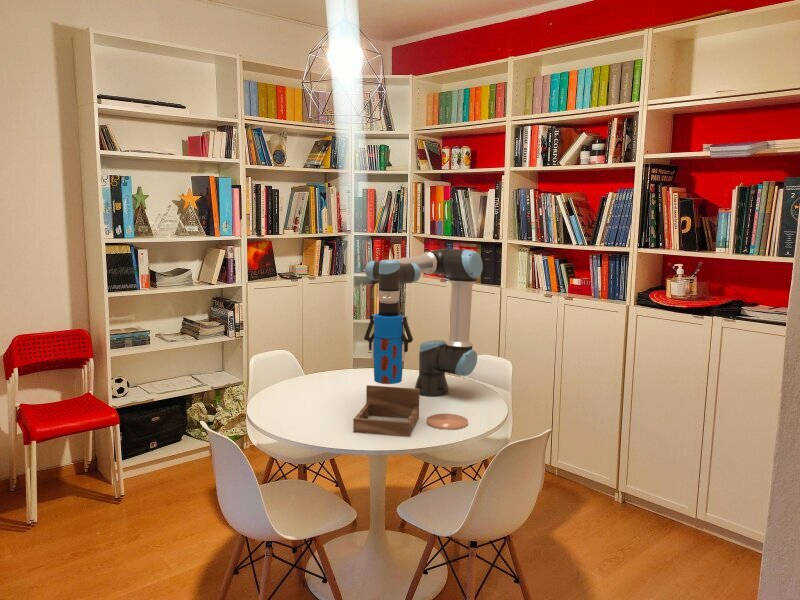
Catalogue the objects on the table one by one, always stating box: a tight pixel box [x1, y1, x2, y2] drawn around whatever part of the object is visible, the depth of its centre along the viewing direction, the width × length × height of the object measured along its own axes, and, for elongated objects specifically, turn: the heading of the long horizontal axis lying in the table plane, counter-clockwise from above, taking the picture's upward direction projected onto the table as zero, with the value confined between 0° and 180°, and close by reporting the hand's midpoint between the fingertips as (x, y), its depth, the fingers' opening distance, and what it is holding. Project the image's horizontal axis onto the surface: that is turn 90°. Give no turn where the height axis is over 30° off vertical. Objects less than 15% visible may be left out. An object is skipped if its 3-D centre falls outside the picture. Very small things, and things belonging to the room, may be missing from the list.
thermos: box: [373, 312, 404, 385], centre depth 241 cm, size 11×11×25 cm
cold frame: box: [352, 384, 420, 438], centre depth 244 cm, size 21×21×12 cm
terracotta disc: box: [426, 413, 469, 430], centre depth 248 cm, size 16×16×1 cm
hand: (388, 359), depth 241 cm, fingers closed on thermos, 11 cm apart
